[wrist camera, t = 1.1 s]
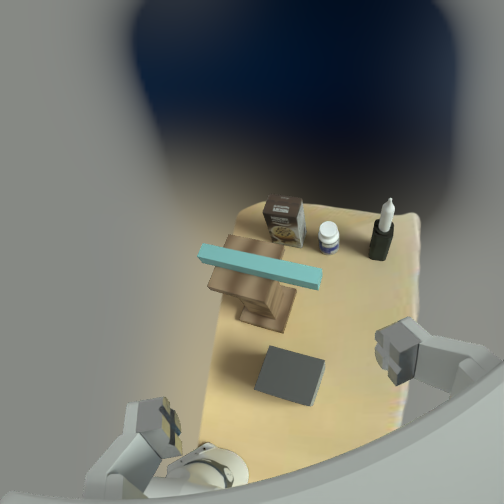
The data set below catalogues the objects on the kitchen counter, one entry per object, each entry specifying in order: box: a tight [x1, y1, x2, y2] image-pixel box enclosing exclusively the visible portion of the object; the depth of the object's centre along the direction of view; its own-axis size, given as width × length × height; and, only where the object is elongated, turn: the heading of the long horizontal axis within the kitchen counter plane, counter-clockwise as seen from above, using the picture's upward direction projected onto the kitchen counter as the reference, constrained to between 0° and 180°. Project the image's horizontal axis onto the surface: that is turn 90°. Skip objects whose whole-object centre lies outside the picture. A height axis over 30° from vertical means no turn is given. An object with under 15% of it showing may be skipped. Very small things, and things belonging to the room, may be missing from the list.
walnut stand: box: [207, 235, 297, 333], centre depth 72 cm, size 12×12×26 cm
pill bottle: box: [318, 221, 339, 255], centre depth 83 cm, size 6×6×10 cm
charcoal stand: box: [254, 346, 325, 406], centre depth 66 cm, size 12×10×15 cm
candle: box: [369, 198, 395, 261], centre depth 72 cm, size 5×5×25 cm
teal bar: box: [197, 243, 322, 290], centre depth 59 cm, size 24×3×3 cm, turn 70°
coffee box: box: [263, 194, 307, 248], centre depth 85 cm, size 9×6×16 cm
